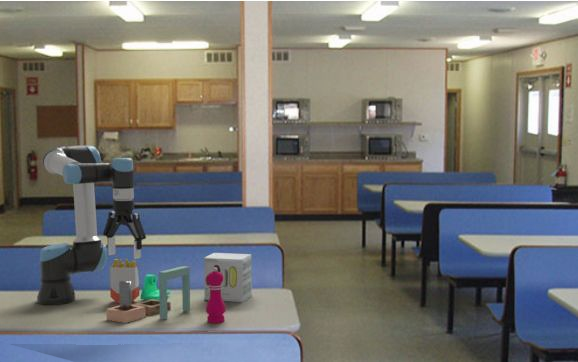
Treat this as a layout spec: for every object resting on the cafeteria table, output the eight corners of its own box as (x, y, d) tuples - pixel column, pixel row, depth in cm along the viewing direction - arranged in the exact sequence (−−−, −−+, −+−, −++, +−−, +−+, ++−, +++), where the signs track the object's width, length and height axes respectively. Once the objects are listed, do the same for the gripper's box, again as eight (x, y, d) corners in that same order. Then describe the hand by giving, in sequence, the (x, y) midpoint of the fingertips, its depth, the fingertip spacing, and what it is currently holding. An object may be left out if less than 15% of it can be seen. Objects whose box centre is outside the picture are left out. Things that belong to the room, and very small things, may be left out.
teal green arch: (159, 317, 252) (158, 271, 251) (184, 309, 263) (183, 266, 262) (165, 318, 250) (164, 272, 249) (190, 310, 262) (189, 266, 260)
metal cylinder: (117, 318, 252) (116, 281, 251) (126, 316, 255) (125, 279, 254) (125, 320, 249) (124, 283, 248) (134, 317, 253) (133, 281, 252)
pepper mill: (206, 318, 251) (205, 265, 250) (225, 318, 251) (225, 265, 250) (205, 324, 244) (204, 269, 242) (225, 323, 244) (224, 268, 243)
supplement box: (203, 300, 279) (202, 257, 278) (214, 293, 292) (213, 252, 291) (243, 302, 275) (242, 259, 274) (252, 295, 288) (252, 253, 287)
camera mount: (157, 303, 277) (156, 278, 276) (140, 301, 279) (140, 277, 278) (170, 296, 288) (170, 272, 288) (154, 295, 290) (154, 271, 290)
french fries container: (114, 300, 281) (113, 257, 280) (139, 300, 280) (138, 257, 279) (110, 302, 277) (109, 259, 276) (135, 303, 275) (134, 259, 274)
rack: (106, 319, 251) (106, 308, 251) (126, 313, 259) (126, 303, 259) (125, 323, 245) (125, 312, 245) (145, 317, 254) (145, 306, 253)
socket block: (133, 311, 262) (133, 304, 262) (152, 306, 270) (152, 298, 270) (152, 315, 257) (152, 307, 256) (170, 309, 265) (170, 302, 265)
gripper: (92, 198, 253) (94, 254, 255) (139, 202, 240) (141, 261, 241) (108, 197, 260) (109, 251, 261) (155, 200, 246) (156, 258, 247)
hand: (124, 256), depth 251 cm, fingers open, 13 cm apart
